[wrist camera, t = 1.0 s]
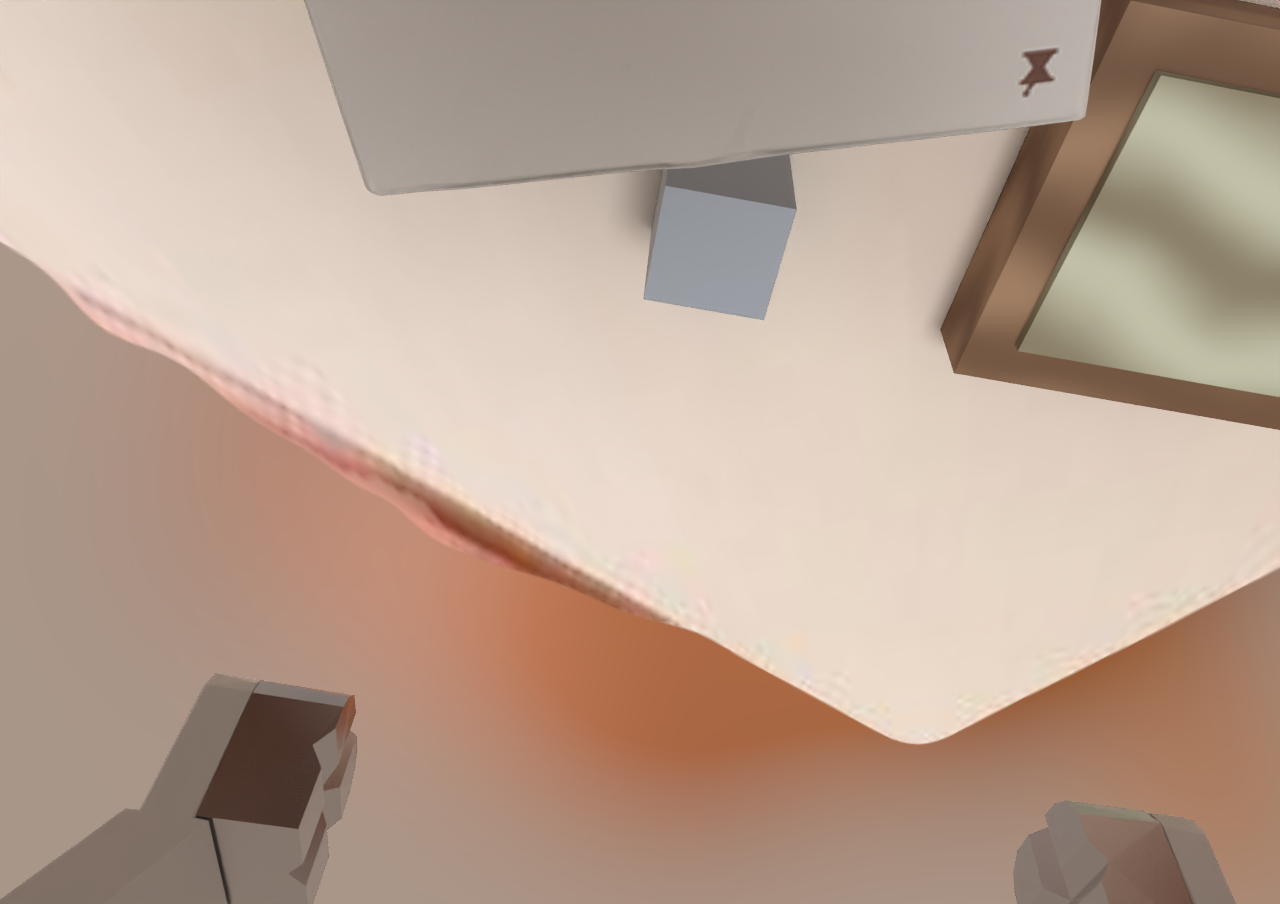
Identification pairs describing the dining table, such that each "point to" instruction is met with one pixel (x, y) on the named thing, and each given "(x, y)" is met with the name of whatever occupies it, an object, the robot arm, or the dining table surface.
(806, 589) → the dining table surface
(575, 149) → the supplement box
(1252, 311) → the walnut stand
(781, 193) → the slate block
